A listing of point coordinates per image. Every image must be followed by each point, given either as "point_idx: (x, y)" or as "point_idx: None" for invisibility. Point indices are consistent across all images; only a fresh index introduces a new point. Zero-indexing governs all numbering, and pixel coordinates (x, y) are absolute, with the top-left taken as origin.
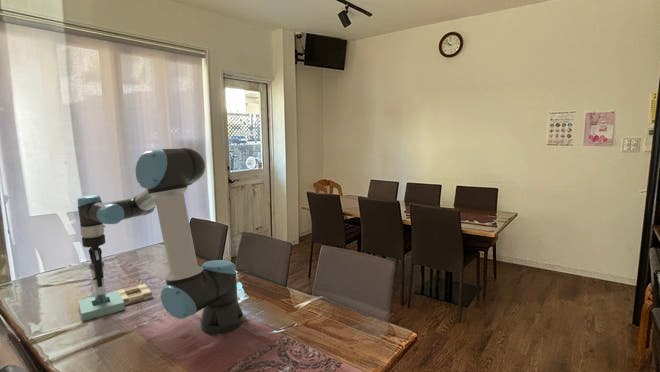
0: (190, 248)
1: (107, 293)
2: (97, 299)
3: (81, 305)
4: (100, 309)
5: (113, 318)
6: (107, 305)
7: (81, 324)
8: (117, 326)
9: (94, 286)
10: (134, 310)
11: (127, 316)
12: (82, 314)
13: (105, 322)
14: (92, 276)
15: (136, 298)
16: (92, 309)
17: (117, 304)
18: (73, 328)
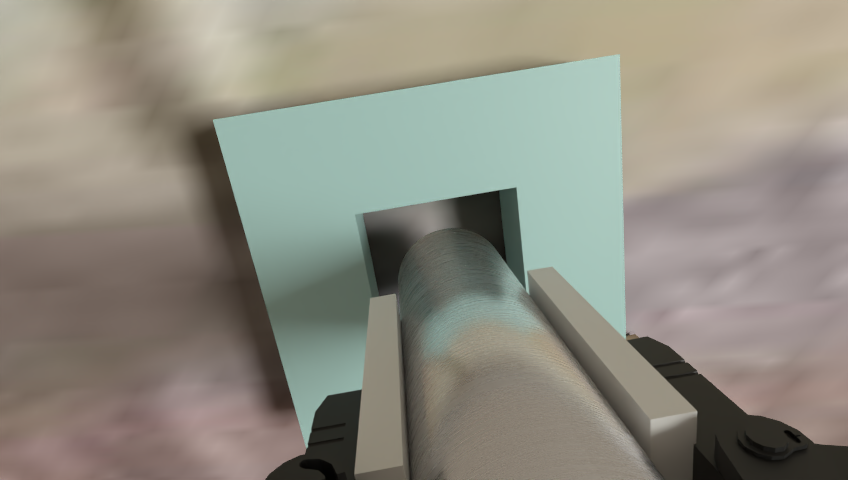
0: None
1: (621, 316)
2: (404, 270)
3: (450, 99)
4: (261, 279)
5: (194, 341)
6: (308, 335)
7: (188, 111)
8: (27, 374)
9: (431, 333)
10: (273, 463)
11: (184, 427)
12: (219, 126)
13: (142, 292)
14: (490, 458)
15: None
16: (275, 215)
17: (295, 407)
18: (129, 50)
